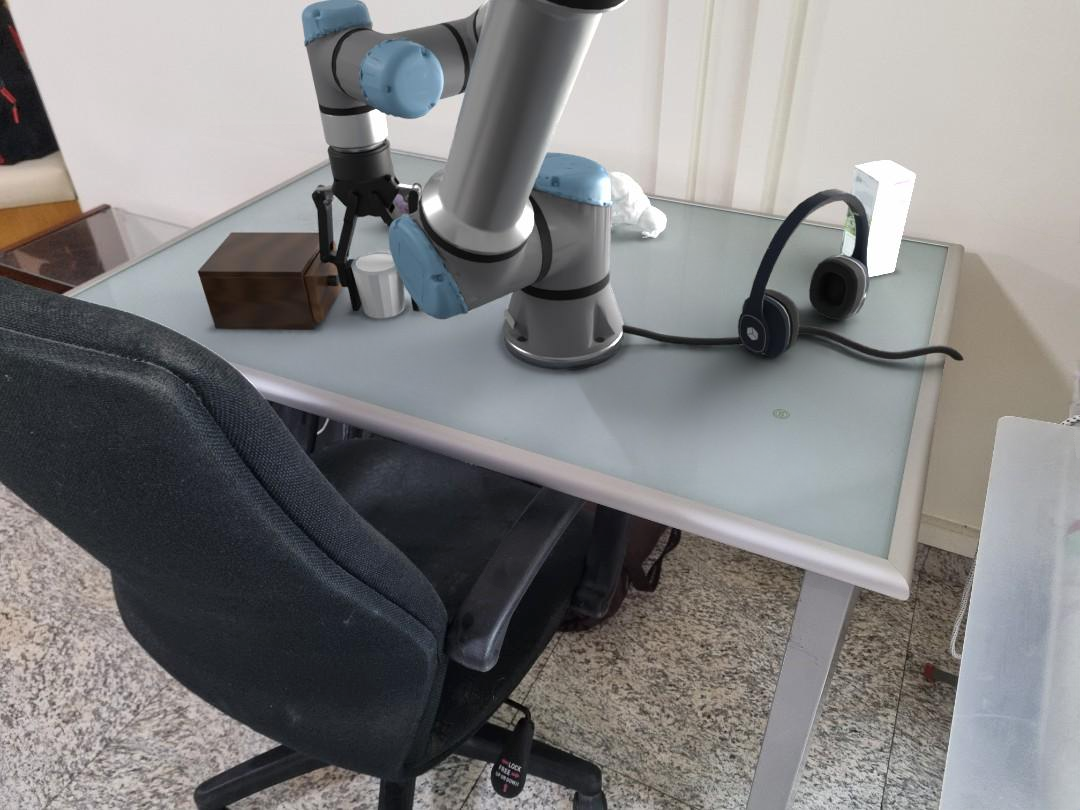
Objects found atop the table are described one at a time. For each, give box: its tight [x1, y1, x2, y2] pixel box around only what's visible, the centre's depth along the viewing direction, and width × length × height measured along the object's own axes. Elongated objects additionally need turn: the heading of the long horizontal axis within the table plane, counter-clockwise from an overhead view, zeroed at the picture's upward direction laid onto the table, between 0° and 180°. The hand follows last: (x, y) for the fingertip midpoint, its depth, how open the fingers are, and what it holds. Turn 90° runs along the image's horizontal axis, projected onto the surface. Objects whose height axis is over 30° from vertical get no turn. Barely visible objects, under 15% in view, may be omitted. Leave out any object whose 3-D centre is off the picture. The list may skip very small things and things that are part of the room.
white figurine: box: [608, 171, 667, 239], centre depth 130 cm, size 6×8×12 cm
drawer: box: [304, 240, 343, 323], centre depth 114 cm, size 14×10×7 cm
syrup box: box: [838, 159, 916, 278], centre depth 116 cm, size 6×6×14 cm
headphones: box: [737, 188, 870, 358], centre depth 101 cm, size 20×7×18 cm, turn 127°
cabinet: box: [197, 231, 320, 331], centre depth 114 cm, size 14×12×9 cm
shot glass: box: [351, 250, 406, 319], centre depth 113 cm, size 7×7×7 cm
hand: (387, 305), depth 115 cm, fingers open, 8 cm apart
